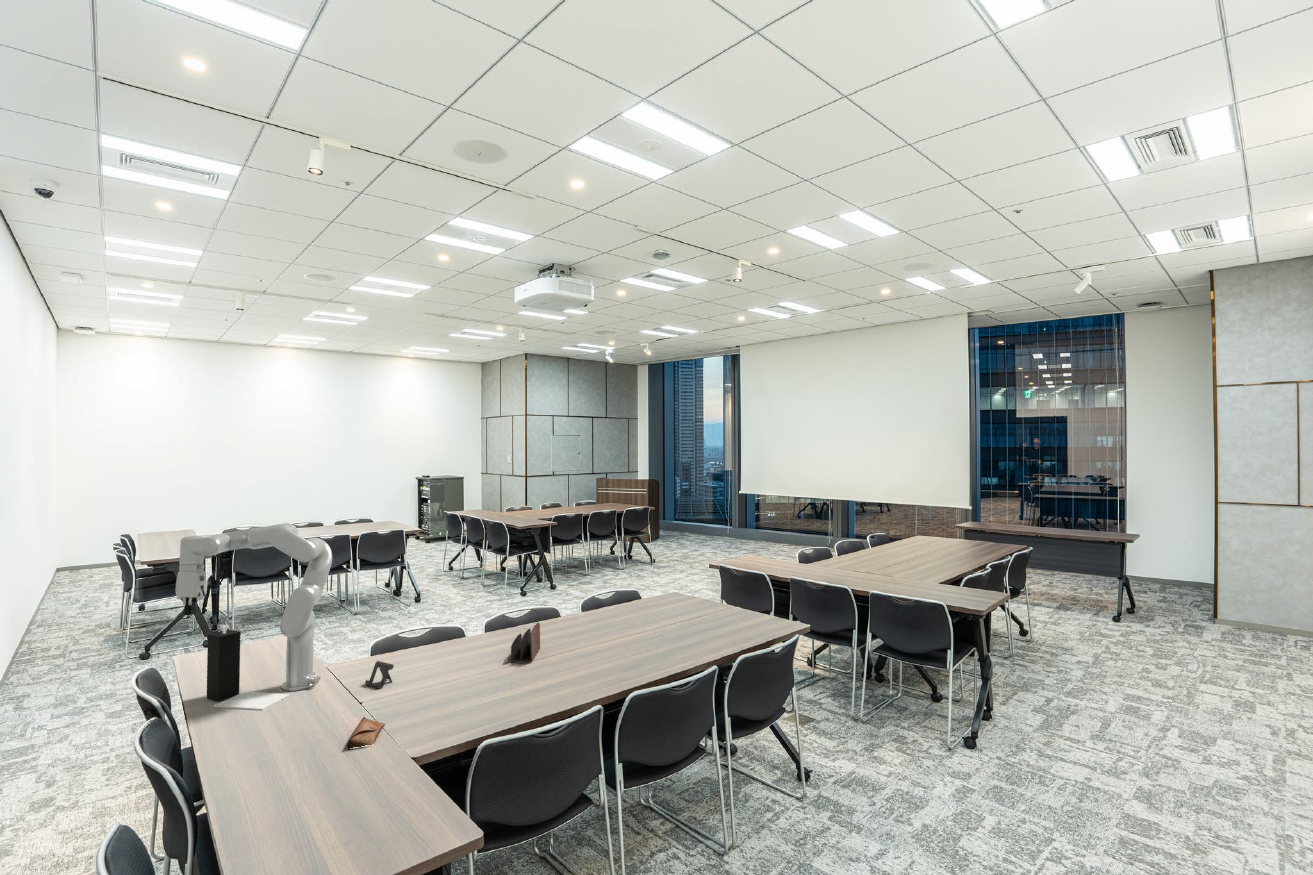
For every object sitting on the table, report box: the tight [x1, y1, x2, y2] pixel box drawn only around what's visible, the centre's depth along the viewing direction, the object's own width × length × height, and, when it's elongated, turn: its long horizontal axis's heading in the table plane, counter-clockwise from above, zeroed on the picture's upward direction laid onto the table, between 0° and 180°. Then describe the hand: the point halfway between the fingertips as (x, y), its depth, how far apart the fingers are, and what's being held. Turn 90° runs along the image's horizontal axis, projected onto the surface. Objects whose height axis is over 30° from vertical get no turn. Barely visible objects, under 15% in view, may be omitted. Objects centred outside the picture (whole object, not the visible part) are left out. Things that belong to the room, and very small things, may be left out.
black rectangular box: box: [206, 624, 242, 703], centre depth 240 cm, size 8×8×28 cm
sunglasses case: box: [346, 716, 386, 750], centre depth 206 cm, size 18×7×7 cm
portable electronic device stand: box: [364, 660, 394, 690], centre depth 253 cm, size 9×8×8 cm
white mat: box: [214, 691, 291, 711], centre depth 235 cm, size 20×14×1 cm
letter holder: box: [510, 622, 541, 664], centre depth 289 cm, size 10×20×14 cm, turn 0°
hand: (189, 614), depth 242 cm, fingers closed
